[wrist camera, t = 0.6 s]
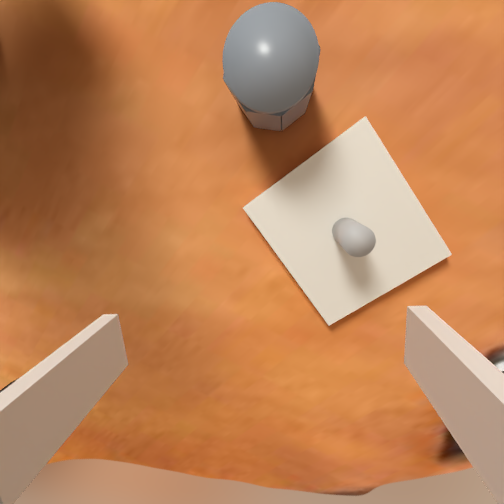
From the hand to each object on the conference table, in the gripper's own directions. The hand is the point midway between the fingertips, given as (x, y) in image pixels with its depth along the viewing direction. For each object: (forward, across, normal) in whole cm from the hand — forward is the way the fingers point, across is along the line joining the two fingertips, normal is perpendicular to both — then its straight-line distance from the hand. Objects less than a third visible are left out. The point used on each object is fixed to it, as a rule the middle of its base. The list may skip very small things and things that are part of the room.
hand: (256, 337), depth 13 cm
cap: (+23, +1, +16) cm, 28 cm away
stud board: (+23, +8, +1) cm, 24 cm away
